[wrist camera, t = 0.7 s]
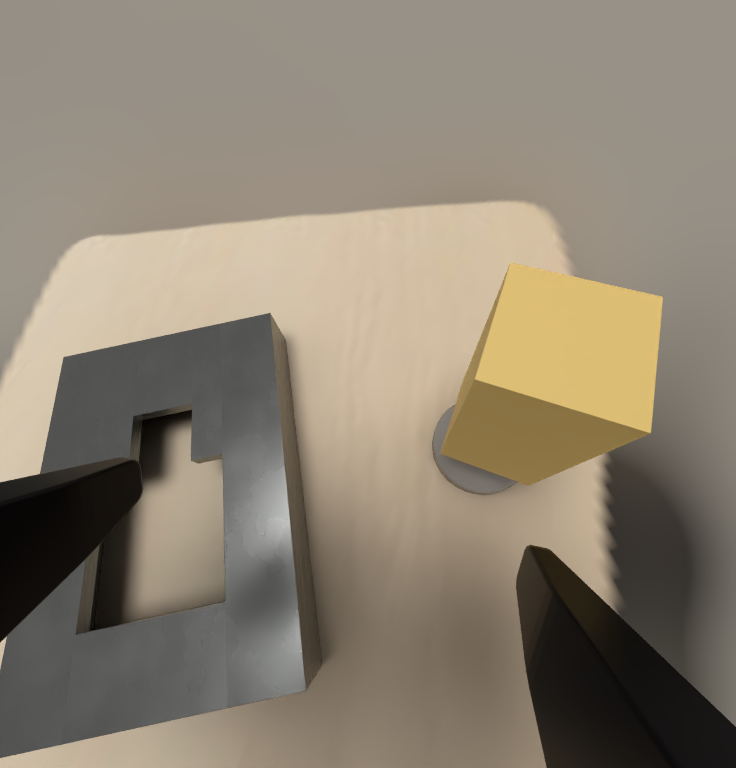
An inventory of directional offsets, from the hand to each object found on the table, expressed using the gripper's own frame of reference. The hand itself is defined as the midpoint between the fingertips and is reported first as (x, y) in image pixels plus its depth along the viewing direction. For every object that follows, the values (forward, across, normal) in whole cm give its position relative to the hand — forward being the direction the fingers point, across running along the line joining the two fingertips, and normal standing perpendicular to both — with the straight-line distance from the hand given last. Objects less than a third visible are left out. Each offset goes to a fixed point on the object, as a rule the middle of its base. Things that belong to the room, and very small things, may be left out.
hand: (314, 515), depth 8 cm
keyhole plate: (+10, +11, +9) cm, 18 cm away
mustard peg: (+14, -6, +4) cm, 16 cm away
